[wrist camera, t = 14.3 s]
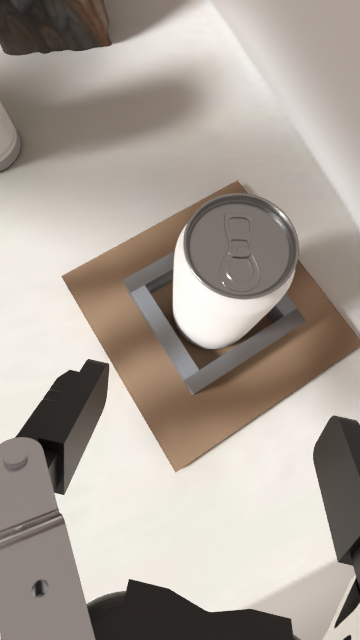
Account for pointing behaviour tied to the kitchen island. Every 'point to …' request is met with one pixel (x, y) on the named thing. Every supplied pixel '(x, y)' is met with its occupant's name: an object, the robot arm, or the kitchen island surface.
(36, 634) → the robot arm
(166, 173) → the kitchen island surface
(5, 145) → the travel mug
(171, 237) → the mount
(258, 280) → the can
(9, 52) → the brown rock
